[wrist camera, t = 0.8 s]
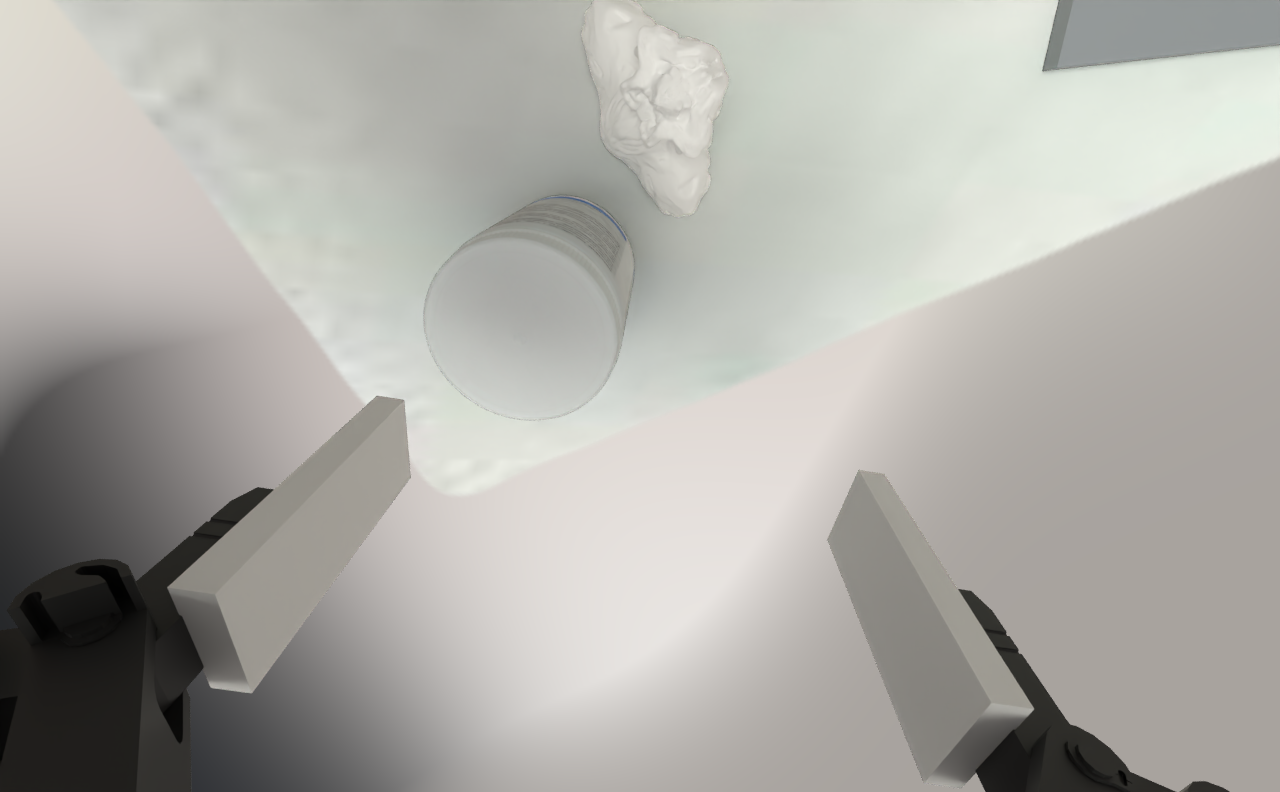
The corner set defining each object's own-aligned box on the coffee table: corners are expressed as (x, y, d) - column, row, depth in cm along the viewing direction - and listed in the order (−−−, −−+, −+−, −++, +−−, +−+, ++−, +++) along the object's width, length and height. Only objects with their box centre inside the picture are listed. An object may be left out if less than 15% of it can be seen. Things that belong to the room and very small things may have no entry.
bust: (694, 199, 36) (823, 155, 26) (616, 249, 33) (727, 221, 24) (617, 16, 31) (738, -119, 22) (518, 58, 28) (606, -75, 19)
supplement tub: (483, 222, 35) (374, 271, 22) (607, 172, 33) (568, 194, 20) (541, 343, 39) (478, 445, 26) (654, 305, 37) (647, 395, 24)
